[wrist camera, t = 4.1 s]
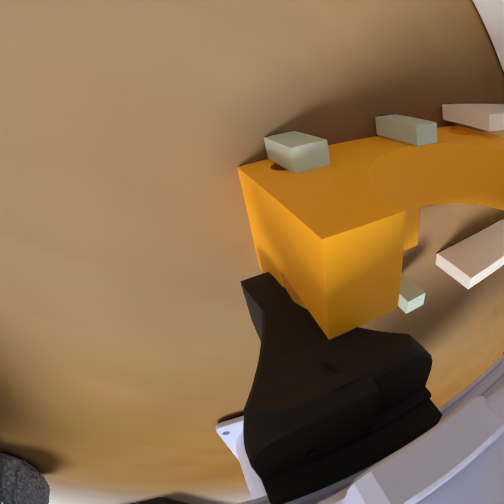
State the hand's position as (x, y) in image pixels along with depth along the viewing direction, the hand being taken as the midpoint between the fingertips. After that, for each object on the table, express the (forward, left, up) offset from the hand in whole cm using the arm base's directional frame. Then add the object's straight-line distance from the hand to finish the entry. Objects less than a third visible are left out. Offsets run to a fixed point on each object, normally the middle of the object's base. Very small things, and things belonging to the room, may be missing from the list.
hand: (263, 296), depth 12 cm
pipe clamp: (+2, -6, -2) cm, 7 cm away
